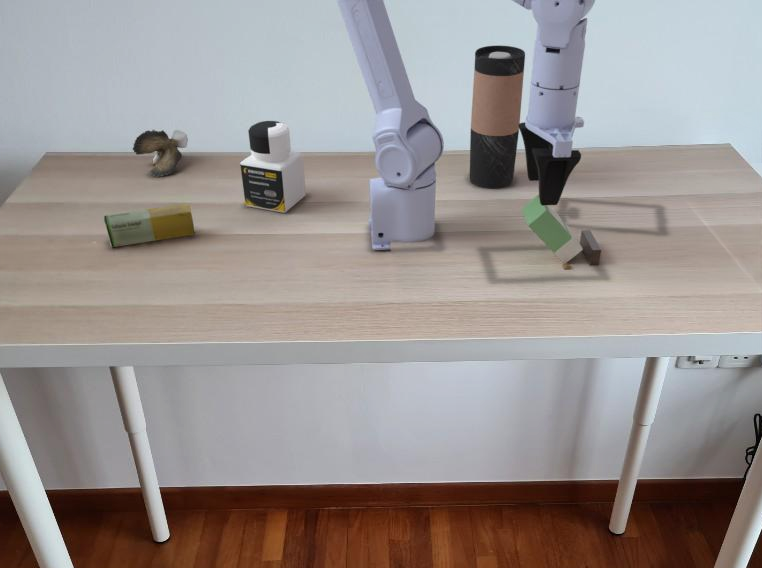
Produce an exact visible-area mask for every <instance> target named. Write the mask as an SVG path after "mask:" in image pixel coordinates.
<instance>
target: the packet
mask: <svg viewBox="0 0 762 568" xmlns="http://www.w3.org/2000/svg"><path fill="white" fill-rule="evenodd" d="M520 211H521V212H522V215H523V217H524V220H525V222H526V224H527V227H528V228H529V229H531V231H532V232H533V233H534V234H535V235H536V236H537V237H538V238H539V239H540V240H541V241H542V242H543V243H544V244H545V245H546V246H547V247H548V249H550V251H551V252H553V254H554V255H555V256H556V257H557V258H558V259H559V260H560V261H561V262H562V263H563V264H564V263H568V262H570V261H571V260H572V259H573V258H575V257H576V256H577V255H578V254H579V253H580V252H583V251H582V250H583V249H582V247H581V245H580V240H579V239H578V237H577V235H576V234H575V232H574V231H573V229H572V228H571V227H570V226H568V224H567V223H566V222H565V221H564V220H563V219H562V218H561V217H560V216H559V215H558V214H557V213H556V212H555V211H554V209H552V207H551V205H541V203H540V199H539V194H537V195H536V196H535V197H534V198H532V199H531V200H529V202H528V203H527V204H525V205H524V206H523V207H522V208H521V209H520Z"/></svg>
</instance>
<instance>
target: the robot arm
mask: <svg viewBox="0 0 762 568" xmlns="http://www.w3.org/2000/svg"><path fill="white" fill-rule="evenodd" d="M511 1H513V2H514V3H515V4H517V5H519V6H521V7H522V8H524V9H525V10H529V11H530V10H531V12H532V16H533V18H534V21H535V22H536V23H537V24H536V25H537V26H536V36H535V40H534V48H533V49H534V50H533V59H532V68H531V69H532V71H531V78H530V87H529V88H530V89H529V99H528V109H527V115H526V117H525V121H524V122H520V124H519V125H518V127H519V133H520V134H521V138H522V141H523V146H524V151H525V162H526V173H527V179H528V180H529V182H538V195H539V199H540V203H541V205H549V206H557V205H558V204H559V202H560V199H561V198H562V194H563V192H564V190H565V186H566V184H567V181H568V180H569V177H570V176H571V173H572V172H573V170H574V169H575V168H576V166H577V165H578V164H579V163H580V161H581V159H582V153H581V152H580V150H579V149H573V144H574V143H573V136H574V133H575V130H576V129H577V128H579V129H580V128H583V127H584V125H585V120H584V119H583V117H581V116H576V114H577V106H578V105H577V104H578V98H579V92H580V85H581V79H582V77H581V76H582V70H583V62H584V55H585V47H586V33H587V25H588V18H587V17H586V16H587V15H588V14H589V13H590V11H591V10H592V8H594V7H593V6H594V5H595V2H596V0H511ZM336 2H337V6H338V8H339V10H340V14H341V17H342V20H343V22H344V25H345V28H346V31H347V33H348V36H349V39H350V40H349V41H350V42H351V45H352V48H353V51H354V53H355V56H356V60H357V62H358V65H359V68H360V71H361V74H362V78H363V80H364V82H365V85H366V88H367V91H368V94H369V97H370V100H371V103H372V105H373V109H374V111H375V112H374V113H375V115H376V116H375V122H374V126H373V130H372V135H371V136H372V140H373V144H374V148H375V157H374V162H375V167H376V171H377V173H378V175H379V177H375V178H370V179H369V207H370V208H369V210H370V211H369V213H370V217H368V219H367V220H368V231H370V236H371V247H372V248H371V249H372V250H374V251H389V250H392V248H391V242H399V243H400V242H401V243H419V242H423V241H426V240H428V239H430V238H432V237H433V236H434V235H435V230H436V229H435V227H436V226H435V225H436V191H437V190H436V189H437V187H436V186H437V172H436V162H437V161H438V160H439V159H440V158H441V157H442V155H443V153H444V147H445V143H444V137H443V134H442V133H441V131H440V130H439V128H438V127H437V126H436V124H434V123H433V121H432V119H431V117H430V114H429V111H428V109H427V107H425V106H424V105H423V104H422V103H420V102H419V101H418V100H416V98H415V95H414V92H413V89H412V86H411V83H410V80H409V77H408V73H407V70H406V67H405V63H404V61H403V58H402V55H401V52H400V48H399V45H398V42H397V39H396V36H395V33H394V30H393V27H392V24H391V23H392V22H391V21H390V17H389V14H388V12H387V8H386V5H385V2H384V0H336Z"/></svg>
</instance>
